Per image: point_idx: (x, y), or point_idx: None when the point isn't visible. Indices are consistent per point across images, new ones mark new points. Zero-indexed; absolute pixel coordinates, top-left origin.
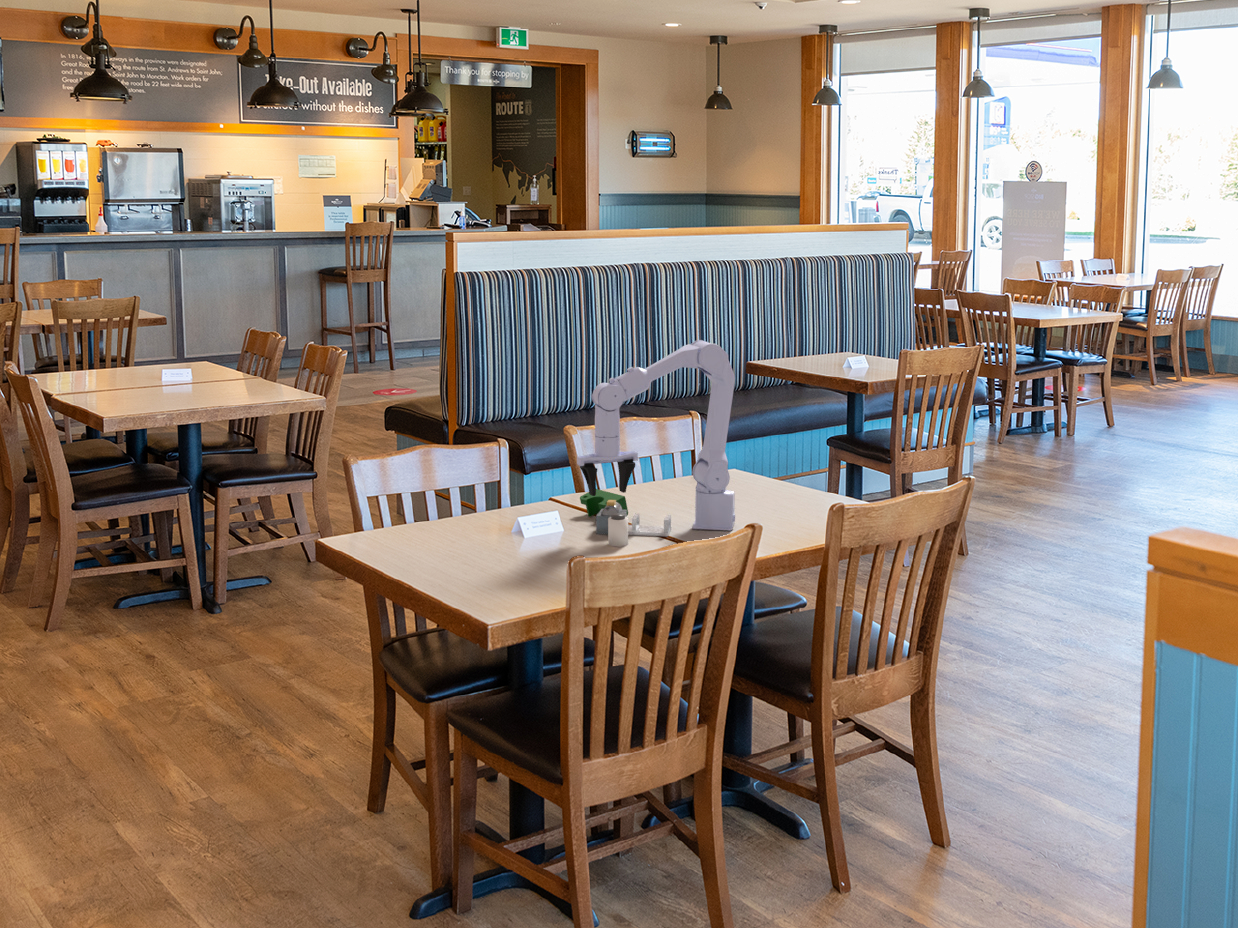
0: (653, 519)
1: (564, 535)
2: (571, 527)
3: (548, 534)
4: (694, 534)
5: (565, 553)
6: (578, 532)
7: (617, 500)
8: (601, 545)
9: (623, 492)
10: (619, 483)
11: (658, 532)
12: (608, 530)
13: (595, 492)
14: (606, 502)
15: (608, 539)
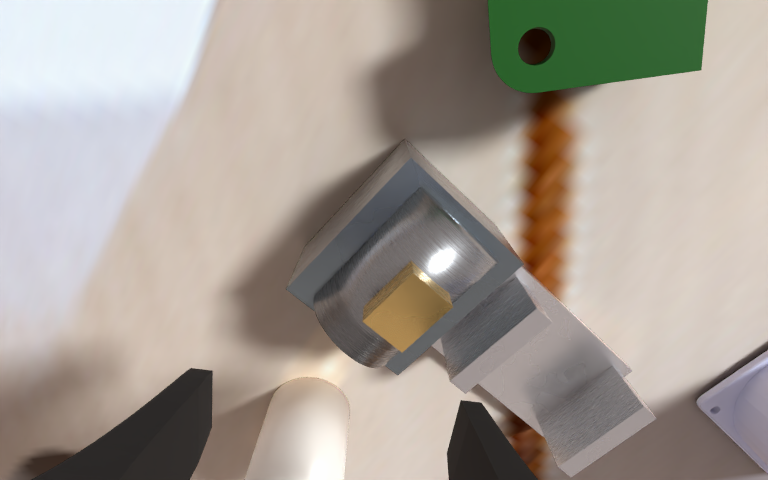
0: (719, 163)
1: (152, 183)
2: (251, 55)
3: (78, 119)
4: (641, 448)
5: (62, 412)
6: (240, 171)
7: (606, 82)
8: (239, 395)
9: (449, 455)
10: (476, 444)
11: (520, 411)
12: (255, 446)
13: (198, 453)
14: (539, 27)
15: (266, 414)
